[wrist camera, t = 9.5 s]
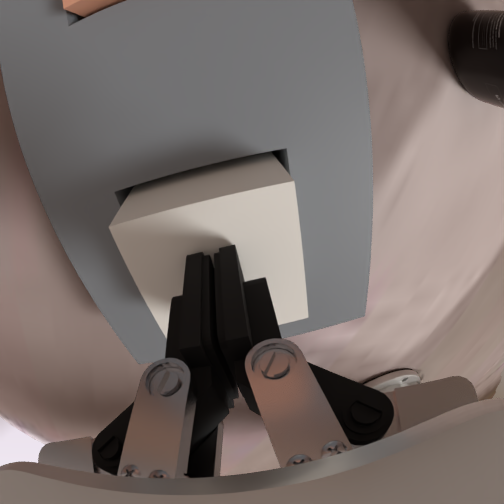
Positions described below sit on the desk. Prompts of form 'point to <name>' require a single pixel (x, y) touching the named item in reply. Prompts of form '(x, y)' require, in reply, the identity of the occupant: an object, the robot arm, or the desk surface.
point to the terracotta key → (88, 6)
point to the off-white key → (215, 231)
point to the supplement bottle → (479, 53)
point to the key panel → (194, 129)
